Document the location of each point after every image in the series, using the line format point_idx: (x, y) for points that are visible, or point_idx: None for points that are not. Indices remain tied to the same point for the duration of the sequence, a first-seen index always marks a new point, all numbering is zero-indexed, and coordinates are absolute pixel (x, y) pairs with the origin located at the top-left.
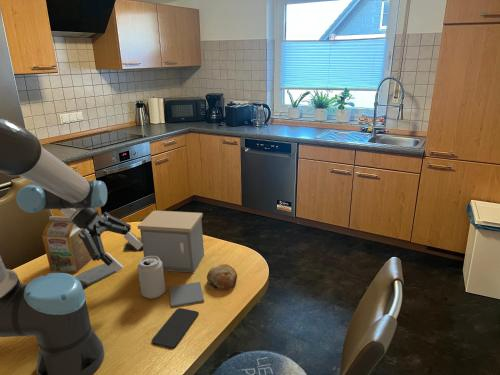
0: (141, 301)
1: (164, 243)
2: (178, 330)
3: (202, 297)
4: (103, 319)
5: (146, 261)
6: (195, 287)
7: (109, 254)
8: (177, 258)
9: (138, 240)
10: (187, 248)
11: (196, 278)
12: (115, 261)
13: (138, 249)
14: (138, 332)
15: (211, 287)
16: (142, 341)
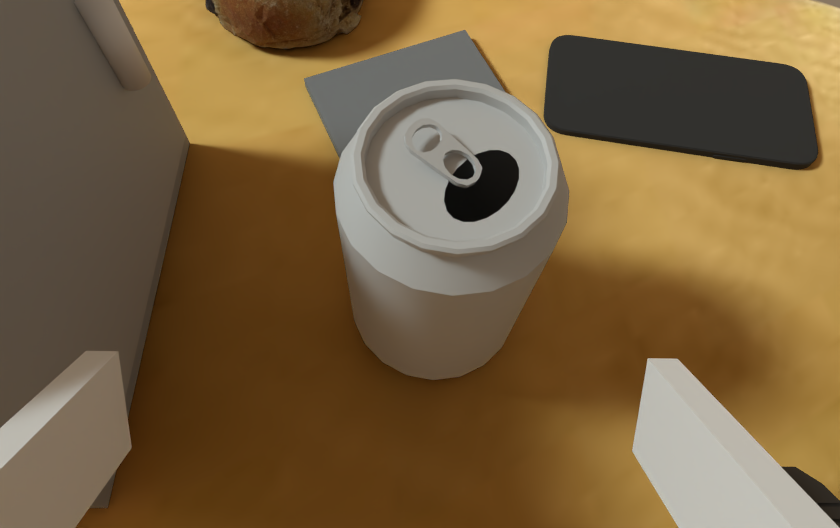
0: (533, 349)
1: (35, 167)
2: (703, 79)
3: (447, 39)
4: None
5: (362, 264)
6: (362, 87)
7: (803, 519)
8: (138, 162)
9: (45, 400)
10: (119, 7)
11: (254, 115)
12: (739, 423)
13: (127, 438)
14: (778, 252)
15: (352, 22)
16: (821, 209)
